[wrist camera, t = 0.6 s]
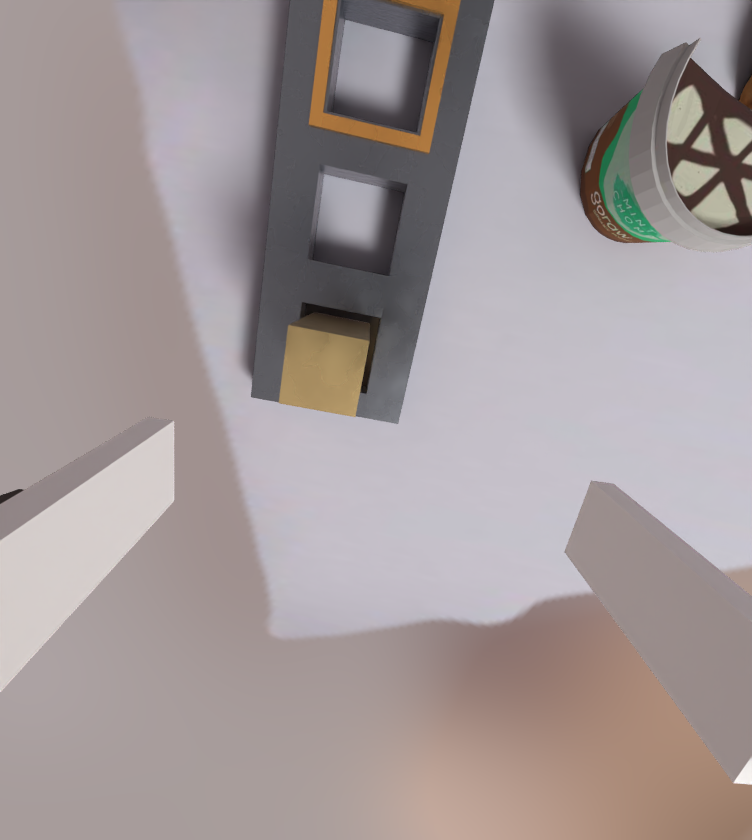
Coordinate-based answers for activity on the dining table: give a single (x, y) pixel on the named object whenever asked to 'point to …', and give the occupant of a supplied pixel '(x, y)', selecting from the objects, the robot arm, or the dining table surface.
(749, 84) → the stuffed squirrel
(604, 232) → the food container
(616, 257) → the dining table surface
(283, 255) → the grey slotted tray
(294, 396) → the brass post
